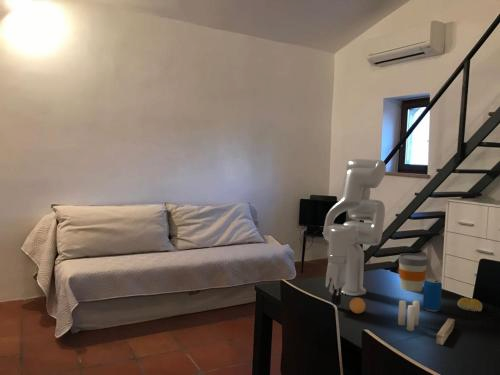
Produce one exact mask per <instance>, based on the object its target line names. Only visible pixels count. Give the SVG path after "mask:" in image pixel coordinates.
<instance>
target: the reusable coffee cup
mask: <svg viewBox="0 0 500 375" xmlns="http://www.w3.org/2000/svg"><path fill="white" fill-rule="evenodd" d="M398 264H399V266H398V277H399V278H400V288H401V289H402V290H403V291H406V292H412V293H413V292H422V290H423V287H424V282H425V280H426V275H427V266H428V257H427V256H425V255H423V254H422V255H421V254H417V253H410V252H409V253H408V252H407V253H400V254H399V255H398Z"/></svg>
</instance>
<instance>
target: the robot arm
mask: <svg viewBox="0 0 500 375" xmlns="http://www.w3.org/2000/svg"><path fill="white" fill-rule="evenodd" d="M386 171H387V166H386V162H384V161H383V160H380V159H363V158H362V159H359V158H358V159H356V158H355V159H351V160H349V161H347V162H346V172H345V173H344V179H343V184H342V188H341V194H340V199H339V201H338V202H336V203H335V204H333V206H332V207H331V208H330V209H329V211H328V212H327V213H326V216H325V220H324V226H323V231H322V232H323V238H324V240H325V241H328V253H327V255H328V256H327V257H328V260H327V262H328V263H327V268H326V274H325V288H329V291H328V292H329V293H331V294H330V295H331V304H332V303H333V304H332V305H335V306H340V305H341V301H342V295H345V294H346V296H352V297H353V296H354V297H355V296H356V297H359V296H363V295H366V294H367V290H366V288H365V287H363V285H364V264H365V253H364V252H365V251H364V250H363V248H362V246H361V245H365V246H366V245H368V246H378V245H380V243H381V241H382V238H383V232H384V231H383V230H384V223H385V216H386V215H385V213H386V207H385V204H384V202H383V201H381V200H378V199H371V198H370V195H371V189H376V188H378V187H379V186H380V184H381V183H382V181H383V179H384V177H385V176H386ZM344 212H347V215H348V218H351V219H353V220H352V221H345V222H344V223H343V224H341V223H340V224H339V223H335V222H334V221H335V219H336V218H337V217H338V216H339V215H340V214H343V213H344ZM354 220H357V221H354ZM358 220H360V221H358ZM364 221H365V222H364ZM367 221H369V222H367ZM342 293H343V294H342Z"/></svg>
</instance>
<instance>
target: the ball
mask: <svg viewBox="0 0 500 375" xmlns="http://www.w3.org/2000/svg"><path fill="white" fill-rule="evenodd" d="M349 309H350V311H352V313H354V314H361V313H363V312H364V311H365V310H366V302H365V301H364V299H362V298H360V297H353V298H352V299H351V300H350V302H349Z"/></svg>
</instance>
